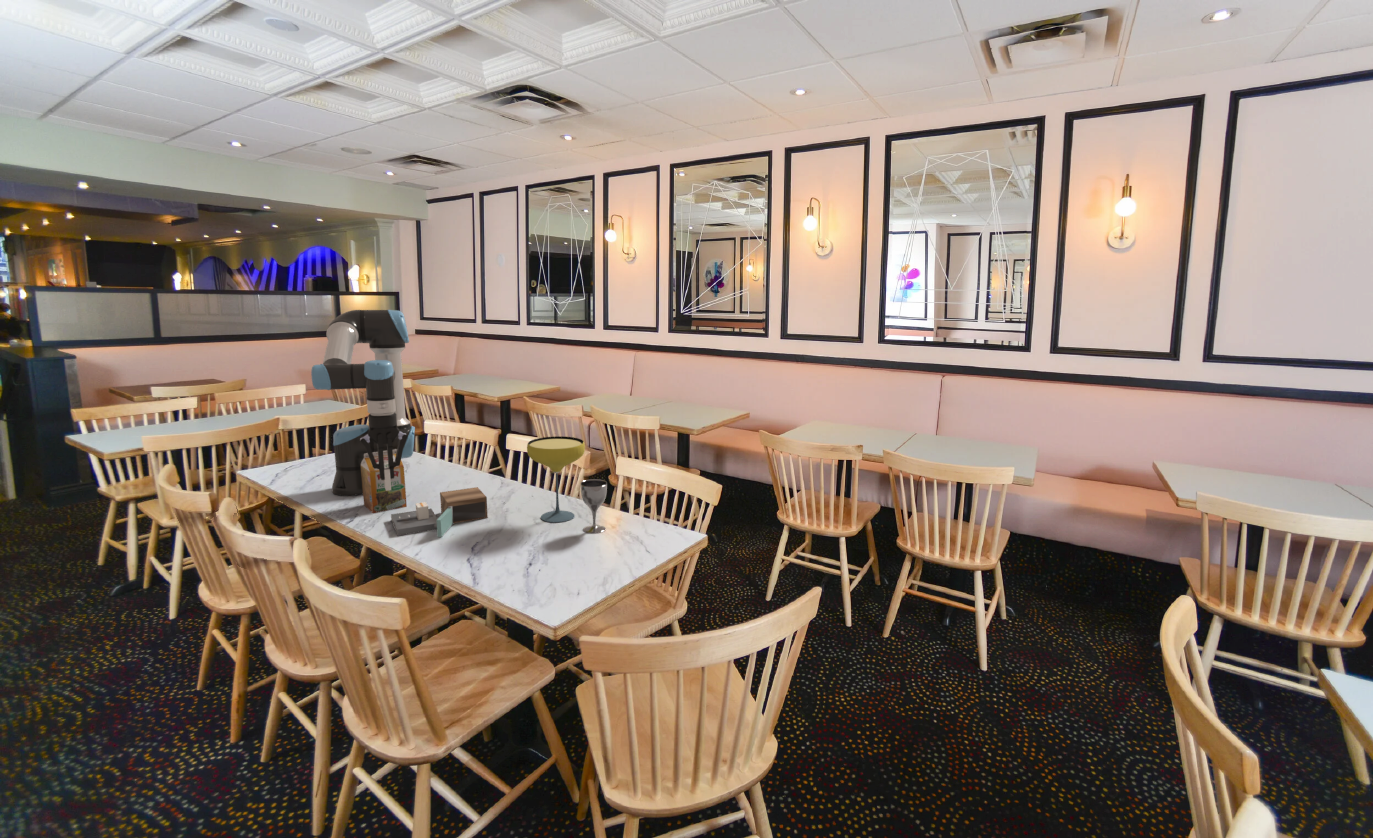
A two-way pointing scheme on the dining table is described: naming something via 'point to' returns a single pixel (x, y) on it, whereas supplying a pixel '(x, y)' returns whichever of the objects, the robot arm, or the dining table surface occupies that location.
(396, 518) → the mixer strip
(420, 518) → the fader knob
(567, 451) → the cocktail glass
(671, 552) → the dining table surface
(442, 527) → the rack door
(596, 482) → the wine glass
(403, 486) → the milk carton
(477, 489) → the box
